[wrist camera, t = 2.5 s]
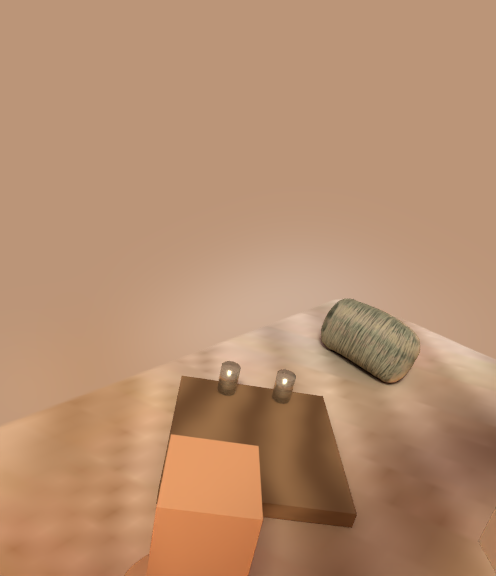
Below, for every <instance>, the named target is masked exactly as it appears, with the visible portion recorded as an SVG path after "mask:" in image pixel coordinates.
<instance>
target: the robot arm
mask: <svg viewBox="0 0 496 576" xmlns="http://www.w3.org/2000/svg"><path fill="white" fill-rule="evenodd" d="M479 543H480V545H481V547H482V549H483V550H484V552H485V554H486V556H487V558H488V560H489V561H490V563H491V565H492V567H493V569H494V571H495V572H496V508H495V510H494V512H493V514H492V516H491V518H490V520H489V521H488V523H487V525H486V527H485V529H484V531H483V533H482V535H481V537H480V539H479Z"/></svg>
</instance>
